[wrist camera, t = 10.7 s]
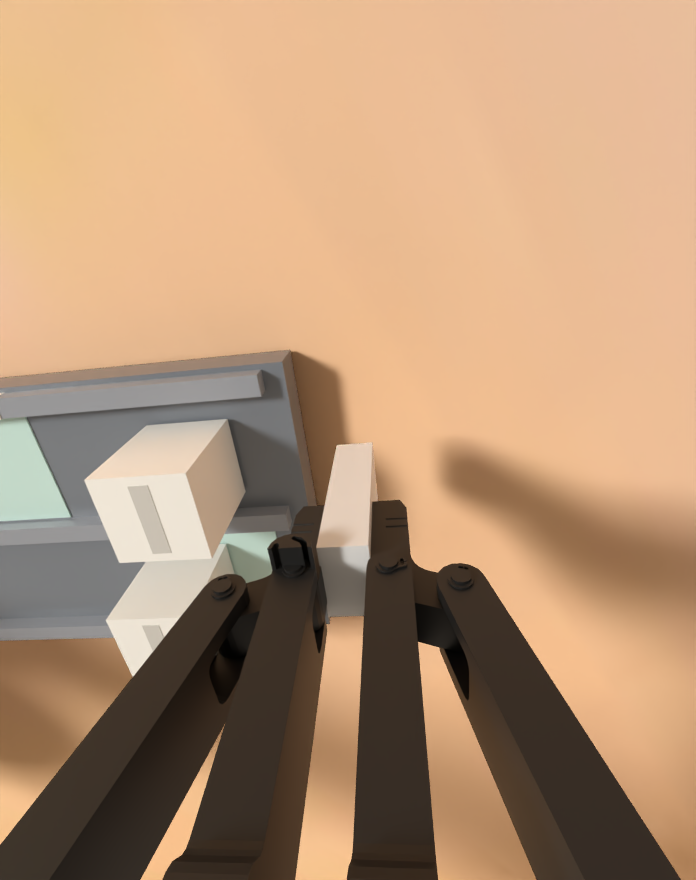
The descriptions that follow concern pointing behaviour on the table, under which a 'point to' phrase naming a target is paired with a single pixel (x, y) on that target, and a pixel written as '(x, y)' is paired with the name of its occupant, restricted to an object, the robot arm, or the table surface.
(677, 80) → the table surface
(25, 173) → the table surface
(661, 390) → the table surface
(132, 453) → the tab
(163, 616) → the tab
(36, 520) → the switch board
